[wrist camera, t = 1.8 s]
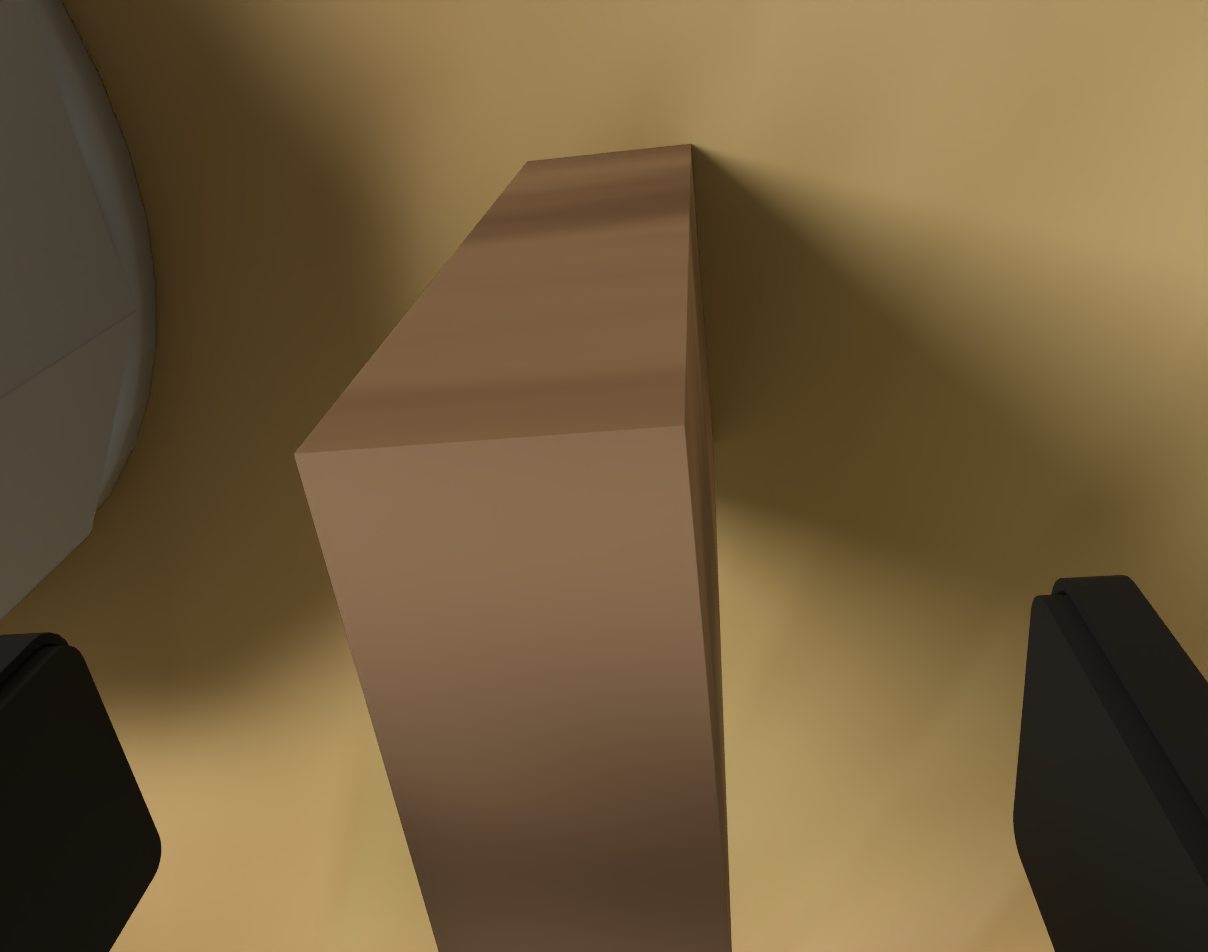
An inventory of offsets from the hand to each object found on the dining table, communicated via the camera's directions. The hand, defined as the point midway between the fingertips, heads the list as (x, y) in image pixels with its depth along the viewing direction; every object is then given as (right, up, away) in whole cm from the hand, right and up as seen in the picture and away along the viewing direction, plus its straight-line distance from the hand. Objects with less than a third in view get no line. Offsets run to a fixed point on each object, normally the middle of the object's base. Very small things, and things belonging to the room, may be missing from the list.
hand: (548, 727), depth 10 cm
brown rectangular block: (+1, +6, +10) cm, 11 cm away
